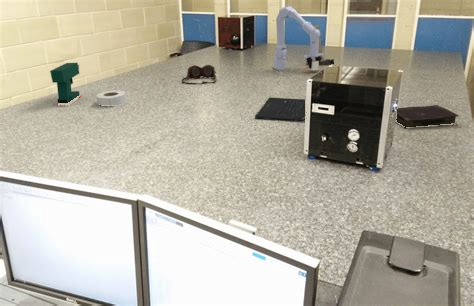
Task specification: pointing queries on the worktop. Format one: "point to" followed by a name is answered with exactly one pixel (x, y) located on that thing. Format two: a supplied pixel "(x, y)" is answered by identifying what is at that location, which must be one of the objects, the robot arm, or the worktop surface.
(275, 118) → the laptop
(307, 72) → the brown rectangular board
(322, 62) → the hammer
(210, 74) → the goggles
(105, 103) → the roll of tape
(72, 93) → the power tool
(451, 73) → the worktop surface
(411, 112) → the diary
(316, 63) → the hollow square socket
